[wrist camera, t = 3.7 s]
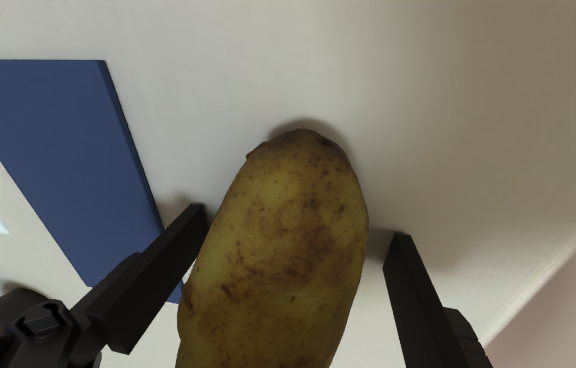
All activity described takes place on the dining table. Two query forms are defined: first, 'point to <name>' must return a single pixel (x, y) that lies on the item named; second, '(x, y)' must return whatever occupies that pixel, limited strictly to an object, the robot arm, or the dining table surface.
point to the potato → (277, 261)
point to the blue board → (76, 162)
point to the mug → (17, 304)
